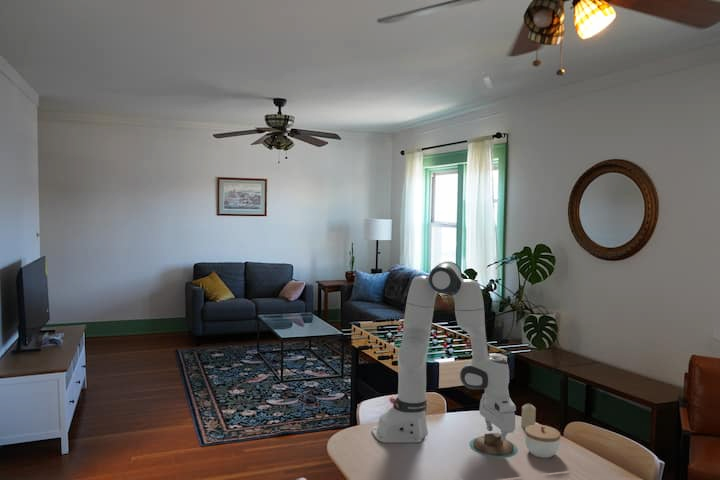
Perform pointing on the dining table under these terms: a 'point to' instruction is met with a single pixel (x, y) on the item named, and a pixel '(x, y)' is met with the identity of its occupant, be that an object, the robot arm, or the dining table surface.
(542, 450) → the lidded bowl
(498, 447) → the lid
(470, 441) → the mat
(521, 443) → the dining table surface
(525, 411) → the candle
